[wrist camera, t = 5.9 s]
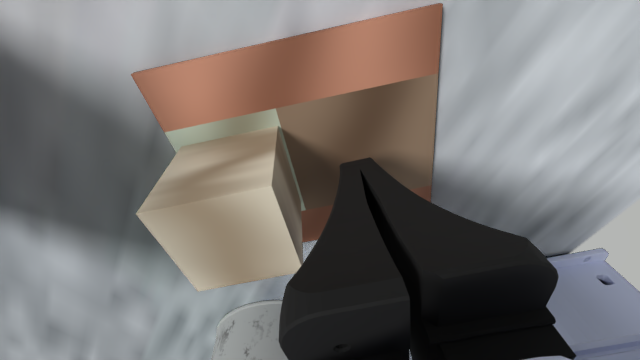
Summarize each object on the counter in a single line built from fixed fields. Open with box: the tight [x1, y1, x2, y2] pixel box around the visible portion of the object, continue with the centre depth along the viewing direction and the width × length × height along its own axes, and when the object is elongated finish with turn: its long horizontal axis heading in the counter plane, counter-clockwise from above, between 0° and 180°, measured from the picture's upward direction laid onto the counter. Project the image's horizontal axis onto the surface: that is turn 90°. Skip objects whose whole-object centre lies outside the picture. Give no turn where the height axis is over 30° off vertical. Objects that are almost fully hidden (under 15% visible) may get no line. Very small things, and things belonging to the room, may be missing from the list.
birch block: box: [136, 126, 303, 291], centre depth 12 cm, size 4×4×4 cm
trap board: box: [131, 3, 443, 242], centre depth 14 cm, size 12×11×1 cm
